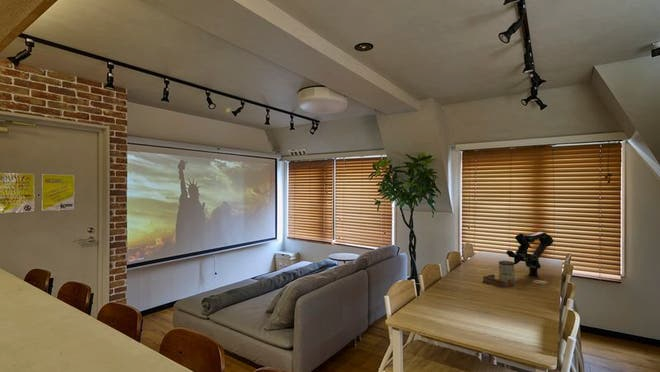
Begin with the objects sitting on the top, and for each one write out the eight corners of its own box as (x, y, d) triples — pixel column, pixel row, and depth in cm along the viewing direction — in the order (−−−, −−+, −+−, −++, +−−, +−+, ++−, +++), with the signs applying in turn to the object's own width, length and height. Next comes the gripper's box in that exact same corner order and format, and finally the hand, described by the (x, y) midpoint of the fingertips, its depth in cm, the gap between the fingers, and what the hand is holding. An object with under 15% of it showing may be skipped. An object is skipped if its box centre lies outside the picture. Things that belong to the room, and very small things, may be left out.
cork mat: (531, 280, 241) (531, 279, 241) (547, 282, 235) (547, 281, 236) (531, 283, 232) (531, 282, 232) (548, 285, 227) (548, 284, 227)
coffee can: (496, 279, 245) (496, 260, 245) (510, 279, 244) (510, 260, 244) (502, 283, 235) (502, 263, 235) (517, 283, 234) (517, 264, 234)
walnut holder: (493, 279, 244) (493, 274, 244) (513, 284, 230) (513, 279, 230) (483, 281, 239) (483, 276, 239) (504, 287, 225) (503, 281, 225)
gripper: (540, 256, 244) (532, 273, 238) (516, 252, 260) (508, 268, 255) (534, 247, 240) (525, 264, 235) (510, 244, 256) (501, 259, 251)
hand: (515, 264), depth 244 cm, fingers closed
